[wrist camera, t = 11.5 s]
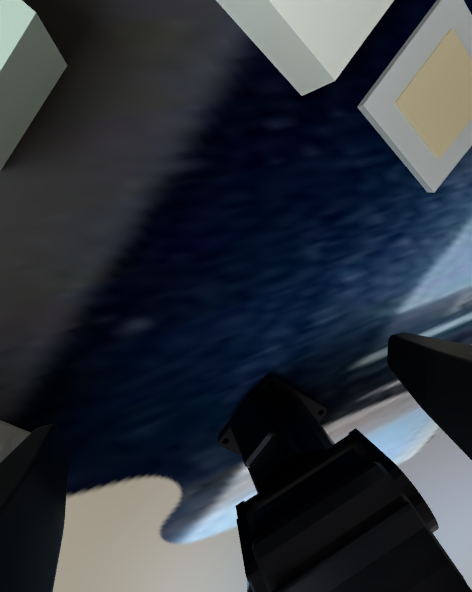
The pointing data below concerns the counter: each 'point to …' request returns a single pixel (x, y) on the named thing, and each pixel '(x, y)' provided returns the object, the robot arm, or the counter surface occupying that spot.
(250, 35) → the cream block
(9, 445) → the skyscraper
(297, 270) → the counter surface
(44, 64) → the sage cube
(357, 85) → the counter surface
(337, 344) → the counter surface
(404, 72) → the tile
